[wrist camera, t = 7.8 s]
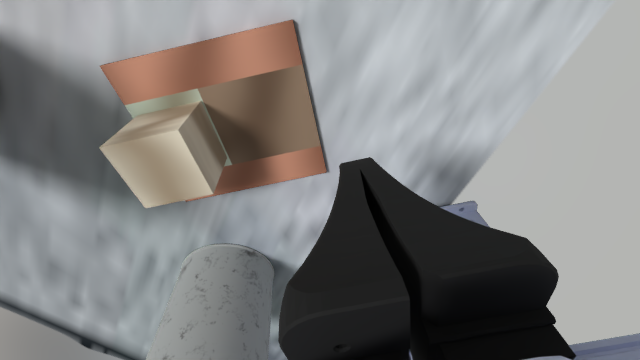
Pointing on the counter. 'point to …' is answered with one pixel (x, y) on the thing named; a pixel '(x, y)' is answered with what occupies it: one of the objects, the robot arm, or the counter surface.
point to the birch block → (168, 155)
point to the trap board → (235, 101)
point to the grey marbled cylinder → (218, 307)
